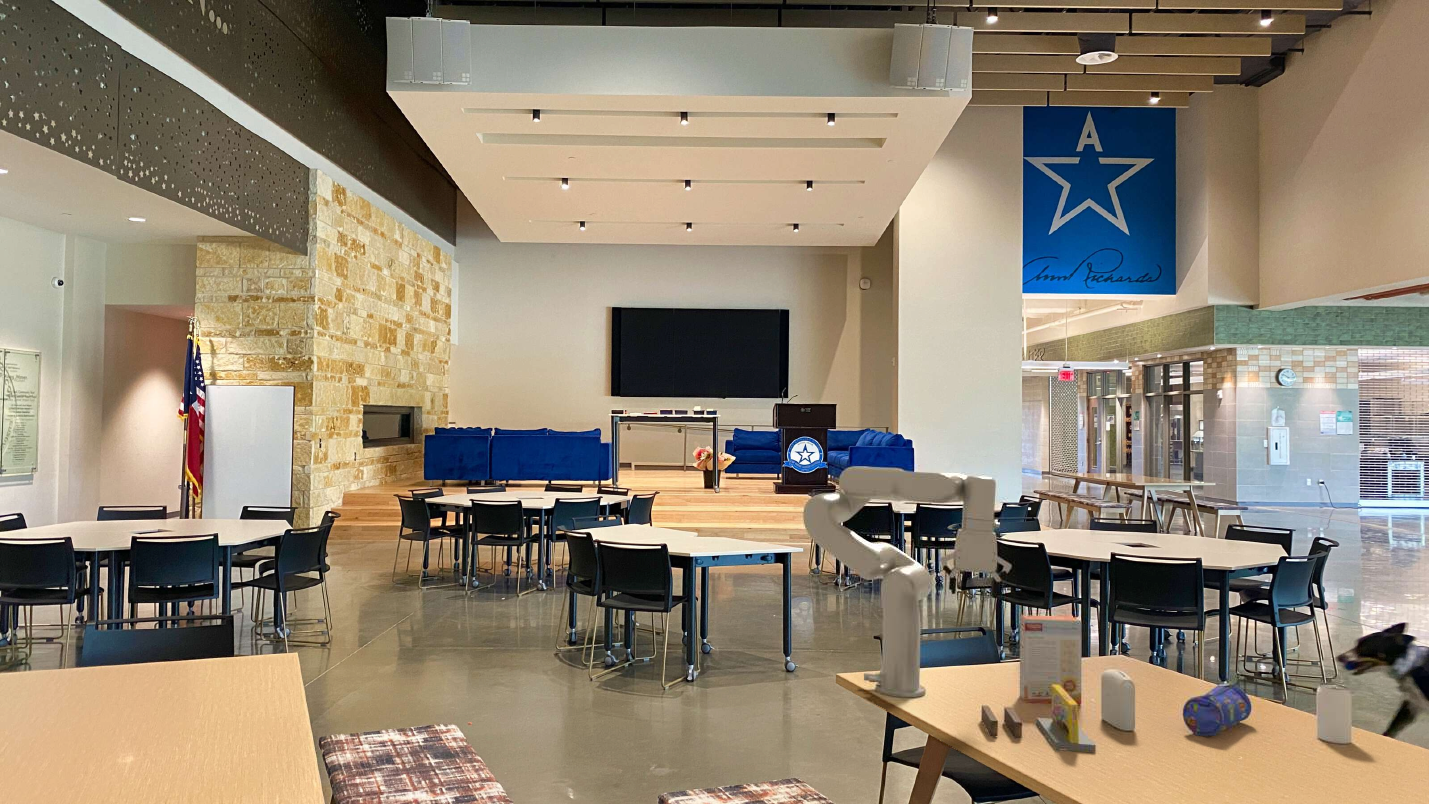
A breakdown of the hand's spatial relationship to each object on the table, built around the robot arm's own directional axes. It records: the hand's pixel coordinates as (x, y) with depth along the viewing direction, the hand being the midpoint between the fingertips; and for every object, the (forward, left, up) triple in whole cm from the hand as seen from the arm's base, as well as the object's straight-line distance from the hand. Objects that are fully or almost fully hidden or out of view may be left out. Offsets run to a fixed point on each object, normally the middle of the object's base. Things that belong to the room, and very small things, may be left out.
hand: (973, 595), depth 228 cm
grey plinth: (+16, -23, -27) cm, 39 cm away
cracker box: (+20, +8, -27) cm, 35 cm away
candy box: (+16, -24, -25) cm, 38 cm away
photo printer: (+31, -10, -27) cm, 43 cm away
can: (+77, -11, -27) cm, 83 cm away
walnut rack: (+3, -20, -27) cm, 34 cm away
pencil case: (+54, -7, -27) cm, 61 cm away
